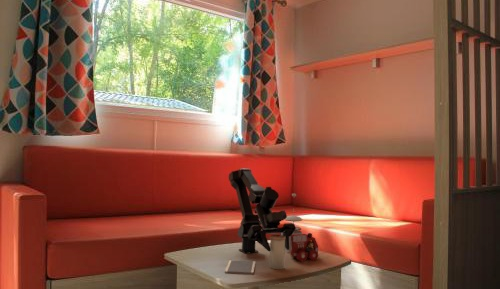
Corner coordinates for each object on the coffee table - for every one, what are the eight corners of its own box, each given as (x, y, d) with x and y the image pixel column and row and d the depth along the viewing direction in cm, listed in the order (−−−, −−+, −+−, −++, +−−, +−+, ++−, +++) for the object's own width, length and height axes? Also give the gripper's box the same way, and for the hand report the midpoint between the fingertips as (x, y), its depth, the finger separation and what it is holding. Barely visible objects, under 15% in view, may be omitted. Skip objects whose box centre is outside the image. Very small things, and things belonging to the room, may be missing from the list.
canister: (266, 265, 162) (267, 235, 162) (279, 264, 165) (280, 234, 165) (273, 270, 157) (274, 238, 157) (287, 268, 159) (288, 237, 160)
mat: (229, 261, 166) (229, 260, 166) (255, 263, 166) (255, 261, 166) (224, 272, 151) (225, 270, 151) (253, 274, 151) (253, 272, 151)
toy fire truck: (322, 260, 174) (322, 234, 174) (295, 262, 169) (295, 235, 169) (313, 256, 180) (313, 231, 180) (286, 258, 175) (287, 232, 175)
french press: (304, 248, 193) (306, 192, 193) (302, 254, 182) (304, 195, 182) (282, 247, 195) (284, 191, 195) (279, 252, 184) (281, 194, 184)
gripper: (251, 203, 160) (264, 239, 150) (294, 202, 169) (309, 236, 159) (241, 221, 167) (254, 256, 157) (283, 219, 176) (297, 252, 166)
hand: (279, 250), depth 160 cm, fingers open, 8 cm apart
